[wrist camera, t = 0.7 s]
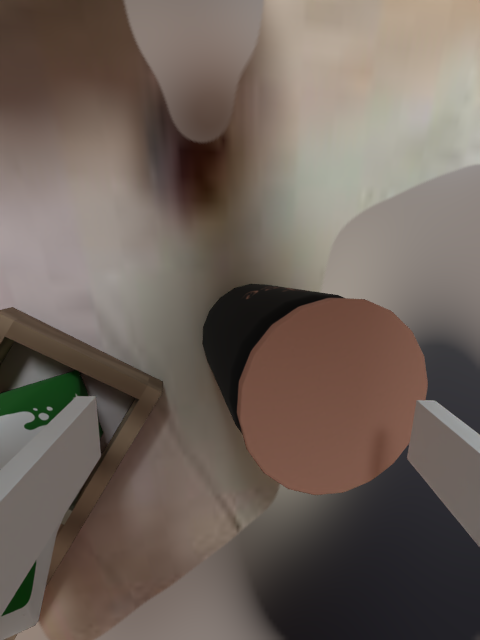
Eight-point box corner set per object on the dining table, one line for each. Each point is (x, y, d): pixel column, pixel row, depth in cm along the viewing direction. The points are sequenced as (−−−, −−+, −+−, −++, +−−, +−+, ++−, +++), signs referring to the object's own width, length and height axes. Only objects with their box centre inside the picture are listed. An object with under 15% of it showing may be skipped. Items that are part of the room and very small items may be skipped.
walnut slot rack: (12, 307, 28) (-6, 311, 26) (162, 381, 32) (162, 392, 29) (-147, 577, 29) (-181, 611, 26) (21, 618, 33) (6, 651, 30)
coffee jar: (316, 314, 35) (462, 357, 18) (267, 398, 35) (364, 522, 18) (234, 263, 32) (311, 255, 15) (181, 355, 32) (197, 452, 15)
